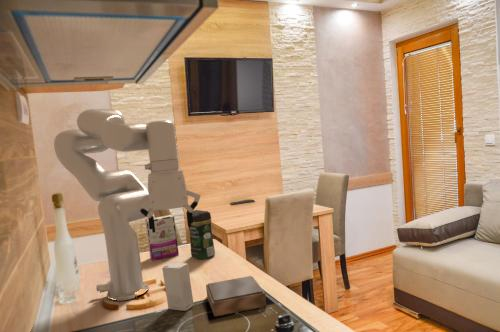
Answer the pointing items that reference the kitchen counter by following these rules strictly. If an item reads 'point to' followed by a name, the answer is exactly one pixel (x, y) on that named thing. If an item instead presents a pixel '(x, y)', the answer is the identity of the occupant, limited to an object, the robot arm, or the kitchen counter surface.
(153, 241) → the candy bar box
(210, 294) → the walnut plinth
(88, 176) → the robot arm
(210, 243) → the coffee jar
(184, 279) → the skincare box
